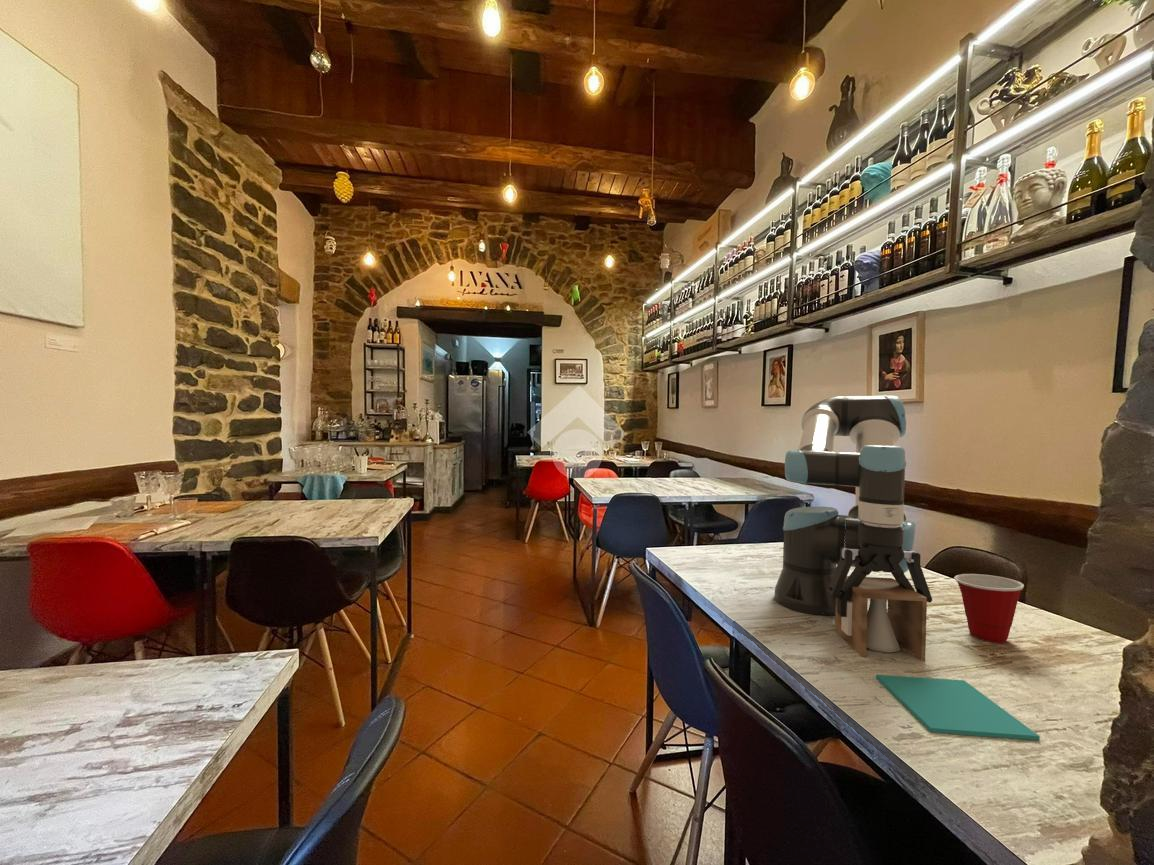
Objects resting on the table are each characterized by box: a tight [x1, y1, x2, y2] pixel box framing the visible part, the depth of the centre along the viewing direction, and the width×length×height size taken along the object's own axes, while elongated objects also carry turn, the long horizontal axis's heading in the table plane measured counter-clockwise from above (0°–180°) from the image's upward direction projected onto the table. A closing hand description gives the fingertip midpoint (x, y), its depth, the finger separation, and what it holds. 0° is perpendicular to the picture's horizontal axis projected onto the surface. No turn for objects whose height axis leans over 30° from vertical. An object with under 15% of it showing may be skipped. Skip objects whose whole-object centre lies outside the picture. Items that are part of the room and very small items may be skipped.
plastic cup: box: [953, 573, 1025, 644], centre depth 95 cm, size 11×11×12 cm
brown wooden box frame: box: [834, 575, 928, 662], centre depth 91 cm, size 11×11×12 cm
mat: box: [875, 674, 1041, 741], centre depth 71 cm, size 14×14×1 cm
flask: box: [866, 599, 901, 654], centre depth 91 cm, size 7×7×10 cm
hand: (877, 634), depth 91 cm, fingers closed on brown wooden box frame, 11 cm apart
